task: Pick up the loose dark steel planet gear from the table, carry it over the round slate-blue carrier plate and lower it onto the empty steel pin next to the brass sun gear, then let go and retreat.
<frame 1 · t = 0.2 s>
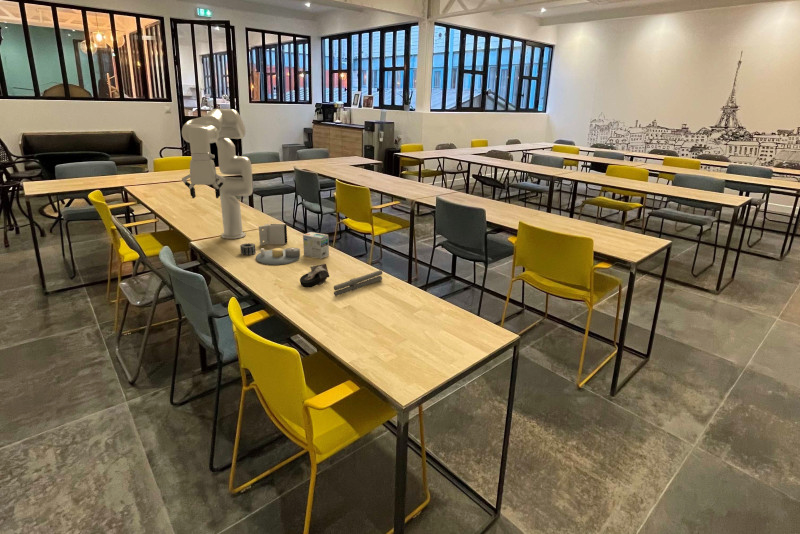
hand: (205, 197, 198), 31 cm above the table, tool pointing down, fingers open, 9 cm apart
hinge: (273, 244, 240), on the table
metal rod assembly: (358, 288, 190), on the table
caster wheel: (314, 284, 192), on the table
carrier: (277, 257, 220), on the table
planet gear: (248, 253, 225), on the table
light bulb box: (316, 256, 225), on the table
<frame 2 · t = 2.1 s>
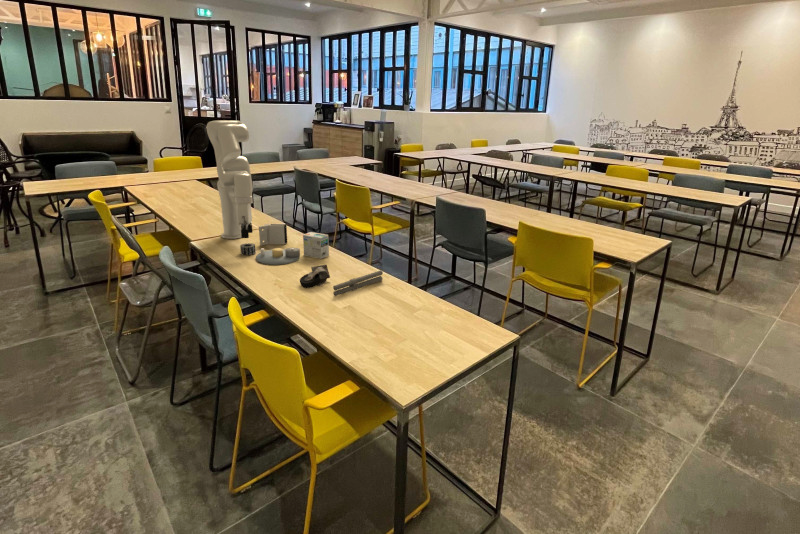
hand: (247, 235, 221), 9 cm above the table, tool pointing down, fingers open, 9 cm apart
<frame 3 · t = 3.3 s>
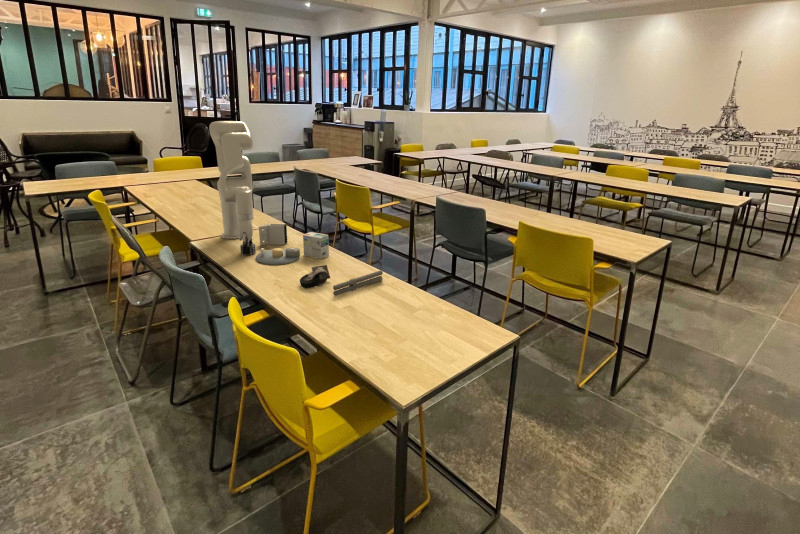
hand: (248, 251, 224), 1 cm above the table, tool pointing down, fingers closed on planet gear, 6 cm apart
planet gear: (248, 253, 225), on the table, touching gripper
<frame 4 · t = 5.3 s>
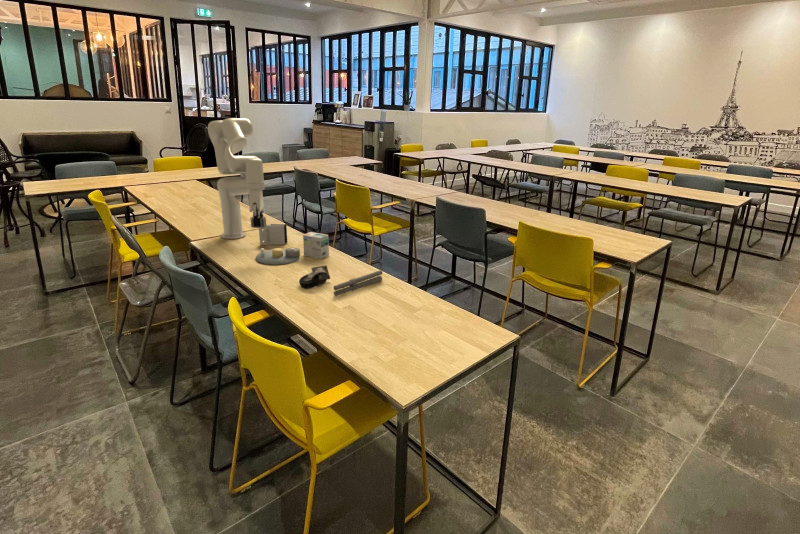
hand: (258, 224, 214), 16 cm above the table, tool pointing down, fingers closed on planet gear, 6 cm apart
planet gear: (258, 226, 214), point 15 cm above the table, touching gripper
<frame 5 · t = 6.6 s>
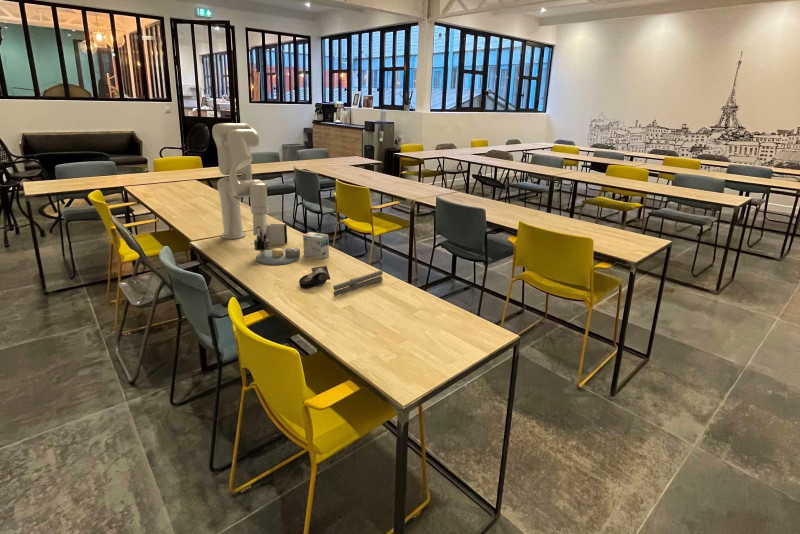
hand: (262, 246, 217), 6 cm above the table, tool pointing down, fingers closed on planet gear, 6 cm apart
planet gear: (262, 248, 218), point 5 cm above the table, touching gripper
when the fingers open (3 cm above the table, at t = 7.6 s): planet gear stays where it is, resting on carrier.
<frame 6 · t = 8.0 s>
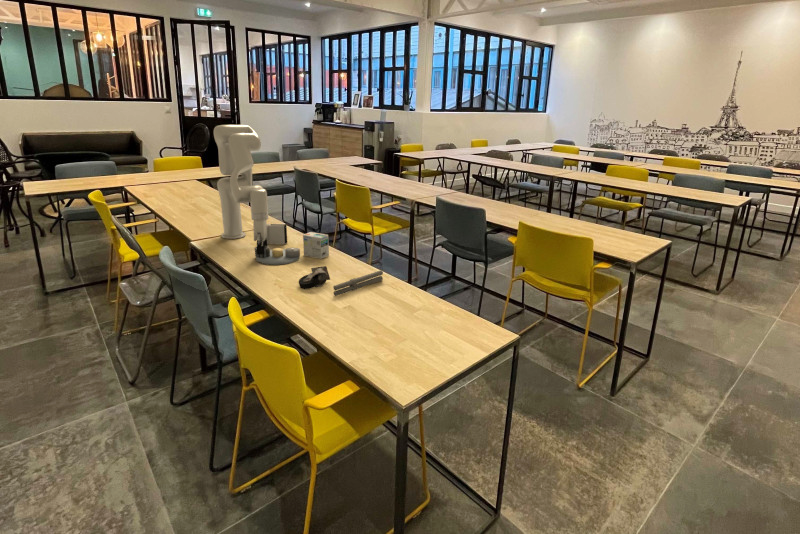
hand: (262, 250, 218), 4 cm above the table, tool pointing down, fingers open, 9 cm apart
planet gear: (262, 255, 219), point 1 cm above the table, touching carrier
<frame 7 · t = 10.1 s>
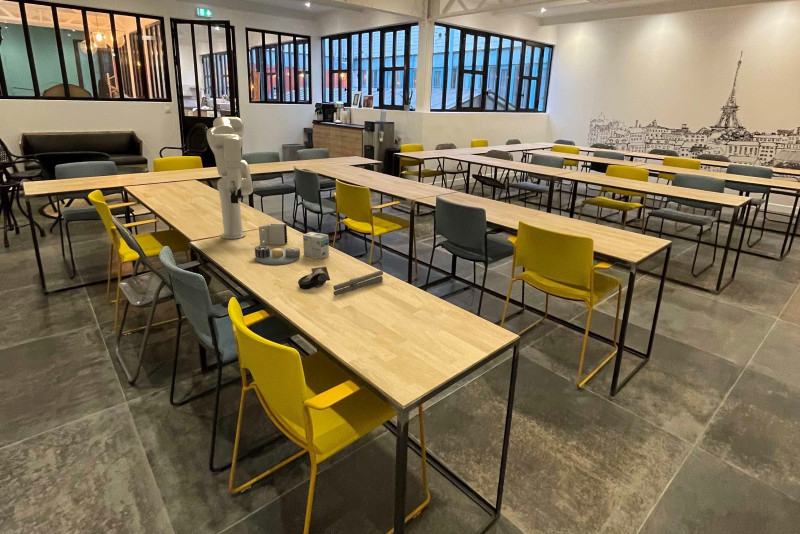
hand: (236, 200, 219), 25 cm above the table, tool pointing down, fingers open, 9 cm apart
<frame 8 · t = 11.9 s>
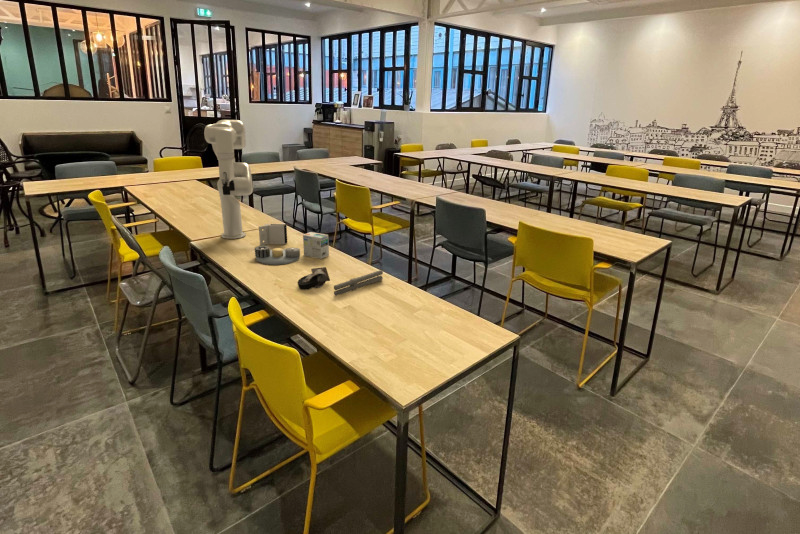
hand: (229, 192, 220), 28 cm above the table, tool pointing down, fingers open, 9 cm apart
at the end: planet gear 0.1 cm from the target spot on the carrier, point 1.0 cm above the carrier's base; the gripper is holding nothing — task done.
